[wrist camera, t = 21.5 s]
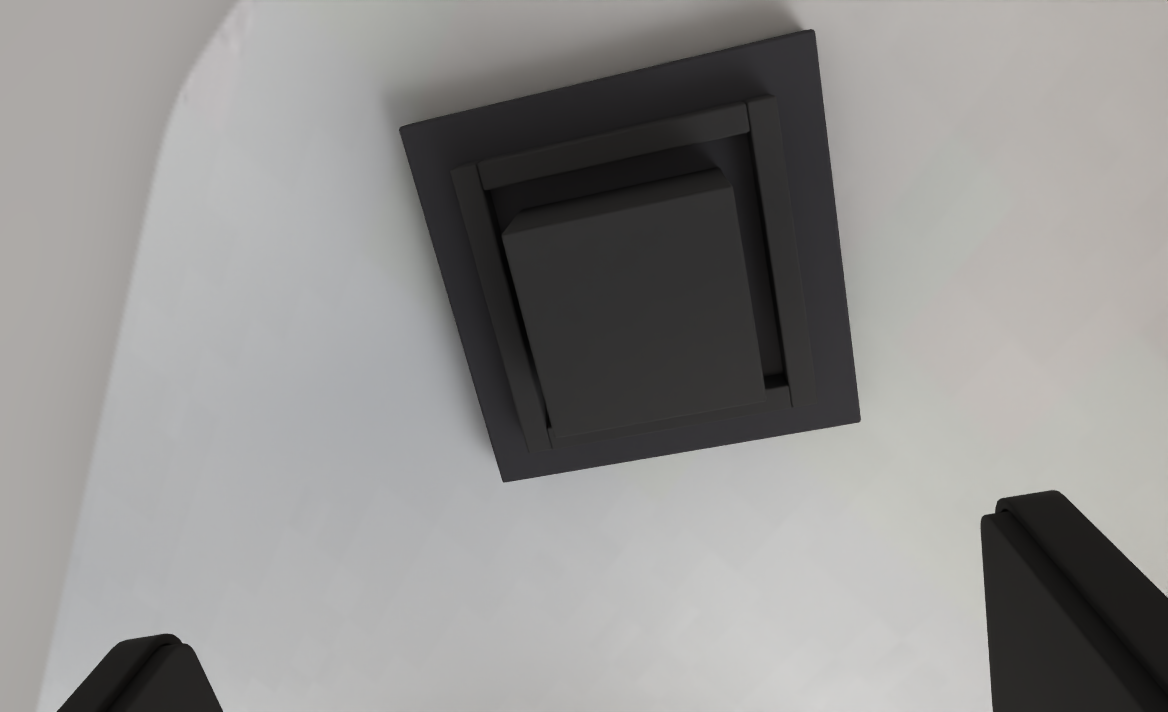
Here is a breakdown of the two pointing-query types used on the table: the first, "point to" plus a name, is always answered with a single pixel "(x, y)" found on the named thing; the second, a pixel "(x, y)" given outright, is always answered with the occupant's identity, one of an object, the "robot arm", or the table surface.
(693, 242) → the small pad
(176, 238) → the table surface
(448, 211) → the base pad
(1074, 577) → the robot arm
